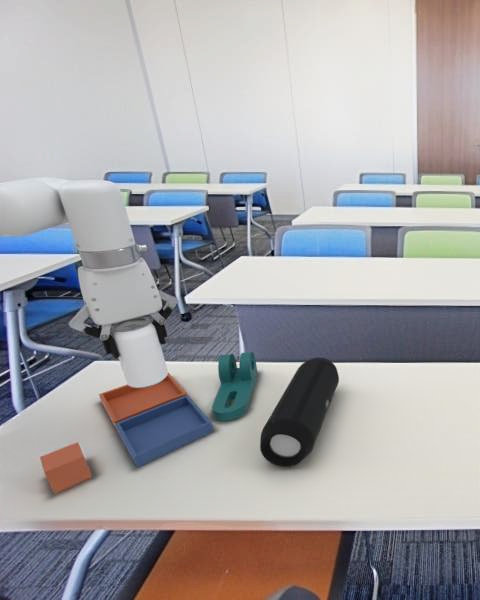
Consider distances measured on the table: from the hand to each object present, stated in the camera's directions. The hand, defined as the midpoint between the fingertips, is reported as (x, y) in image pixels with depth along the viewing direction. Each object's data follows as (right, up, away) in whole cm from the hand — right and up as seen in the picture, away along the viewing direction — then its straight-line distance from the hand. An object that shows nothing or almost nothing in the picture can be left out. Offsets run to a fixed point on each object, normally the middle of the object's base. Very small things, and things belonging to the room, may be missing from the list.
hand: (138, 347), depth 74 cm
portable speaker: (+27, -18, +12) cm, 35 cm away
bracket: (+8, -14, +20) cm, 25 cm away
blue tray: (-1, -19, +8) cm, 20 cm away
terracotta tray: (-11, -15, +16) cm, 24 cm away
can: (0, -7, +3) cm, 7 cm away
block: (-10, -23, -3) cm, 25 cm away
